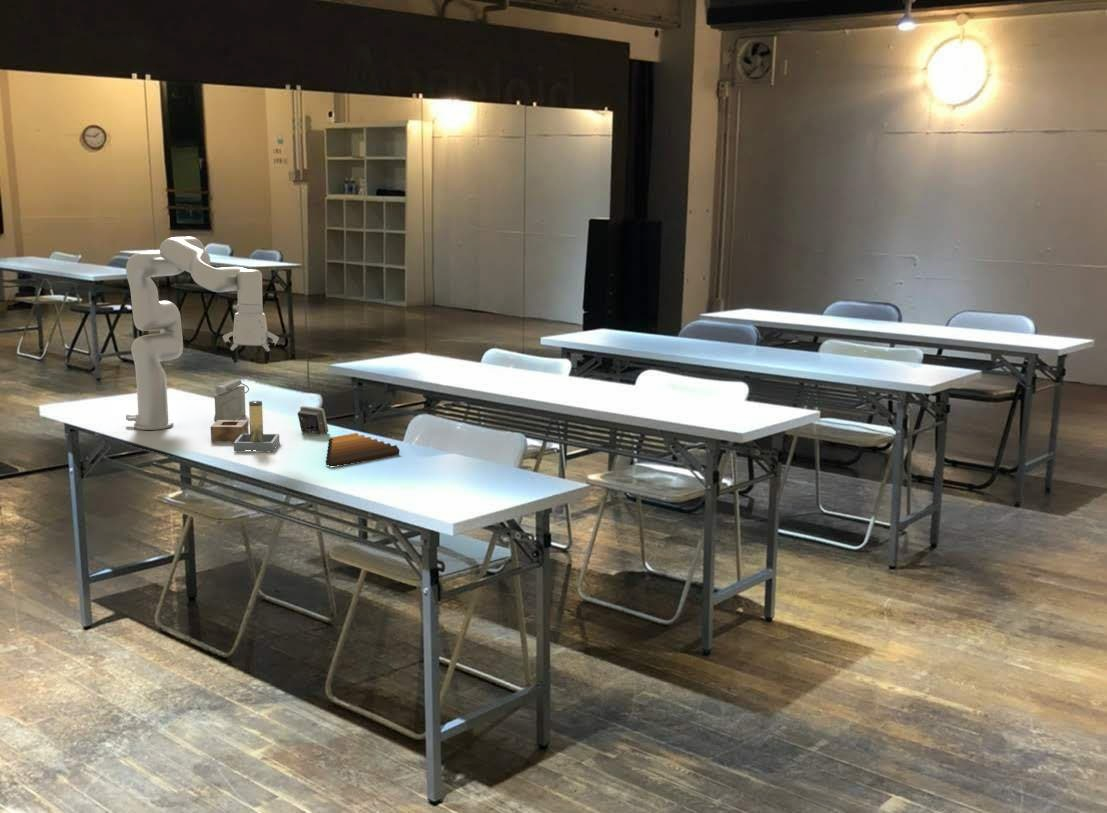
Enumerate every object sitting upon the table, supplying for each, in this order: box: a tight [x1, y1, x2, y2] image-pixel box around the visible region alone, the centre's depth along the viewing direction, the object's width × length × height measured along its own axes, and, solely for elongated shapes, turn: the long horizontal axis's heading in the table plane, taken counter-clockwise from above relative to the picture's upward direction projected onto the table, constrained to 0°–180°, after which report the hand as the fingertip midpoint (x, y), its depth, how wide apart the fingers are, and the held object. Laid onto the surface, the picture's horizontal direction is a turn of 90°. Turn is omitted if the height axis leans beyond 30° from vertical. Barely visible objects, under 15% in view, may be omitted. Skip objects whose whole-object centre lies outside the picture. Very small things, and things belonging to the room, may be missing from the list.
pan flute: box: [325, 432, 400, 466], centre depth 326 cm, size 25×3×25 cm
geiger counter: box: [213, 378, 250, 423], centre depth 363 cm, size 14×6×25 cm
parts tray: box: [233, 433, 280, 452], centre depth 331 cm, size 12×12×3 cm
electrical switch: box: [297, 405, 329, 436], centre depth 351 cm, size 9×5×9 cm, turn 67°
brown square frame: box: [210, 419, 250, 442], centre depth 341 cm, size 10×10×5 cm
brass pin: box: [248, 400, 264, 442], centre depth 330 cm, size 4×4×14 cm
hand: (251, 362), depth 329 cm, fingers open, 9 cm apart
